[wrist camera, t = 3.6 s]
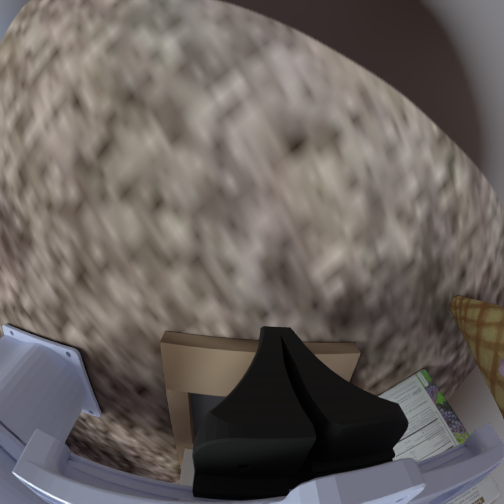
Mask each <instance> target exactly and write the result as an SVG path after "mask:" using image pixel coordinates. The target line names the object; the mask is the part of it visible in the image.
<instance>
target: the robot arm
mask: <svg viewBox="0 0 504 504" xmlns="http://www.w3.org/2000/svg"><path fill="white" fill-rule="evenodd" d="M3 331H4V334H5V335H4V336H3V337H2V338H1V339H0V504H446V503H448V502H450V501H451V500H453V499H455V498H456V497H458V496H459V495H461V494H463V493H464V492H466V491H467V490H469V489H470V488H472V487H473V486H475V485H476V484H478V483H479V482H480V481H481V480H483V479H484V478H485V477H486V476H487V475H488V474H490V473H491V472H492V471H493V470H494V469H495V468H496V467H497V466H498V465H499V464H500V463H501V462H502V461H503V460H504V444H503V442H502V441H501V439H500V438H499V436H498V435H497V433H496V432H495V430H494V429H493V427H492V426H491V425H490V423H487V424H485V425H483V426H481V427H480V428H478V429H476V430H475V431H473V432H472V433H471V434H470V435H469V436H468V438H467V439H466V440H465V442H463V443H461V444H459V445H457V446H455V447H453V448H451V449H449V450H446V451H444V452H442V453H440V454H437V455H435V456H432V457H430V458H427V459H425V460H422V461H420V462H417V463H416V461H415V460H414V459H413V458H404V459H398V460H395V461H393V459H392V458H394V457H395V452H394V450H393V448H394V446H395V445H396V444H397V443H398V442H399V440H400V439H401V438H402V437H403V435H404V434H405V432H406V430H407V428H408V425H409V422H408V419H407V418H406V416H405V414H404V412H403V410H402V409H401V407H400V405H399V404H398V403H395V402H392V401H389V400H386V399H383V398H380V397H378V396H375V395H373V394H371V393H369V392H366V391H364V390H362V389H360V388H358V387H357V386H355V385H353V384H351V383H350V382H348V381H346V380H345V379H343V378H342V377H340V376H339V375H338V374H336V373H335V372H334V371H332V370H331V369H330V368H328V367H327V366H326V365H325V364H324V363H323V362H322V361H321V360H319V359H318V358H317V357H316V356H315V355H314V354H313V353H312V352H311V351H310V350H309V349H308V348H307V346H306V345H305V344H304V343H303V342H302V341H301V340H300V338H299V337H298V336H297V335H296V334H295V332H294V331H293V330H292V329H291V328H287V327H268V326H263V327H262V328H261V331H260V338H259V345H258V349H257V352H256V354H255V356H254V358H253V360H252V363H251V364H250V366H249V368H248V370H247V371H246V373H245V374H244V376H243V377H242V379H241V380H240V381H239V383H238V384H237V385H236V387H235V388H234V389H233V390H232V391H231V392H230V393H229V394H228V395H227V396H226V397H225V398H224V399H223V400H222V401H221V402H220V403H219V404H218V405H217V406H215V407H214V408H213V409H212V410H210V411H209V412H208V414H207V415H206V417H205V419H204V420H203V422H202V424H201V426H200V428H199V430H198V432H197V434H196V437H195V440H194V445H193V453H192V458H193V465H194V481H193V486H187V485H180V484H174V483H169V482H164V481H159V480H154V479H150V478H146V477H141V476H138V475H134V474H130V473H127V472H123V471H120V470H116V469H113V468H110V467H107V466H104V465H101V464H99V463H96V462H93V461H90V460H88V459H85V458H83V457H80V456H78V455H75V454H73V453H71V451H70V449H69V448H68V446H67V445H66V444H65V441H66V439H67V437H68V436H69V434H70V432H71V430H72V428H73V426H74V424H75V422H76V420H77V418H78V416H79V415H80V413H81V411H82V412H84V413H87V414H90V415H93V416H96V417H100V416H101V414H102V413H101V410H100V408H99V405H98V403H97V400H96V398H95V395H94V393H93V390H92V387H91V385H90V382H89V379H88V376H87V373H86V370H85V367H84V364H83V361H82V358H81V355H80V352H79V351H78V350H77V349H75V348H72V347H68V346H65V345H62V344H59V343H56V342H53V341H50V340H47V339H44V338H41V337H38V336H36V335H33V334H30V333H28V332H25V331H22V330H20V329H17V328H15V327H13V326H10V325H8V324H4V325H3Z"/></svg>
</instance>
